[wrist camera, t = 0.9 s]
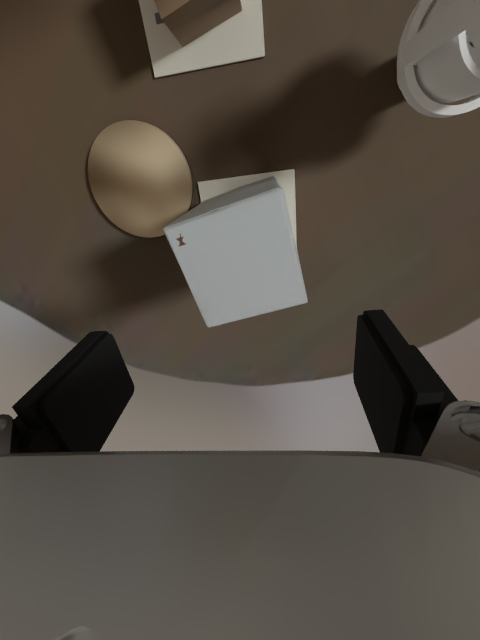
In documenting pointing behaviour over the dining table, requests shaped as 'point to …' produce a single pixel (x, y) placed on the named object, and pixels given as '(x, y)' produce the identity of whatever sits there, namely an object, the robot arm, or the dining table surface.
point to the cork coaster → (139, 177)
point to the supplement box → (239, 253)
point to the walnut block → (195, 16)
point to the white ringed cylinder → (441, 57)
